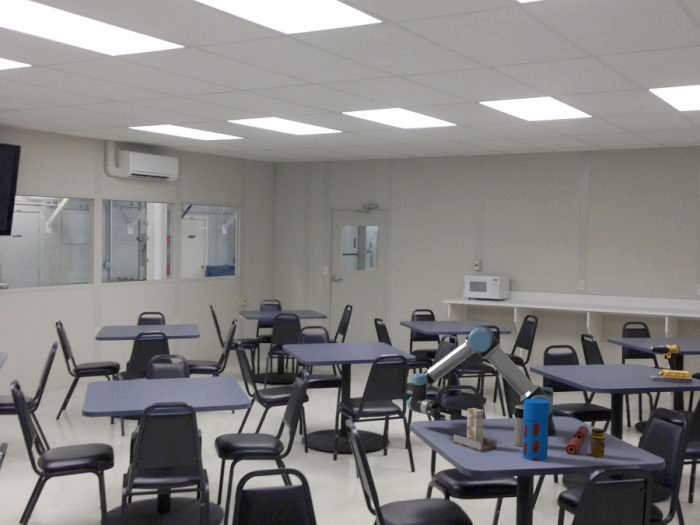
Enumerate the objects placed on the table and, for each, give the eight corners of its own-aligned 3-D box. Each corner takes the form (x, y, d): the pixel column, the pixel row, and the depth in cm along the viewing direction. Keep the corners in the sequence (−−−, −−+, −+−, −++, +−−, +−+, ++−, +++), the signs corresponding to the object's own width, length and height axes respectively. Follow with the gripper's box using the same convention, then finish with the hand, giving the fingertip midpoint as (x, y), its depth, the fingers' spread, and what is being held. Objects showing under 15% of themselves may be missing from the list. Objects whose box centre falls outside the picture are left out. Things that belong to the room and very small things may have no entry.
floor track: (453, 443, 363) (453, 434, 363) (469, 440, 369) (469, 432, 369) (480, 451, 348) (480, 443, 348) (496, 449, 354) (496, 440, 354)
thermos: (547, 461, 334) (549, 404, 334) (522, 459, 336) (524, 402, 336) (546, 455, 345) (548, 399, 344) (522, 453, 347) (523, 398, 346)
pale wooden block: (466, 443, 360) (467, 408, 359) (473, 441, 362) (474, 407, 362) (475, 445, 355) (476, 411, 354) (482, 444, 357) (483, 410, 357)
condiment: (608, 457, 343) (608, 431, 343) (590, 458, 341) (591, 431, 341) (599, 453, 350) (600, 427, 350) (582, 454, 348) (583, 427, 348)
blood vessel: (576, 456, 346) (577, 444, 346) (565, 454, 348) (565, 443, 348) (588, 436, 384) (588, 426, 384) (578, 435, 386) (578, 425, 386)
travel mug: (510, 444, 363) (511, 406, 362) (519, 441, 368) (520, 404, 368) (525, 447, 357) (526, 409, 357) (534, 445, 363) (535, 406, 363)
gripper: (450, 413, 391) (479, 421, 373) (411, 418, 377) (440, 427, 359) (450, 398, 391) (480, 405, 373) (412, 403, 377) (441, 411, 359)
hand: (460, 416), depth 366 cm, fingers open, 13 cm apart
